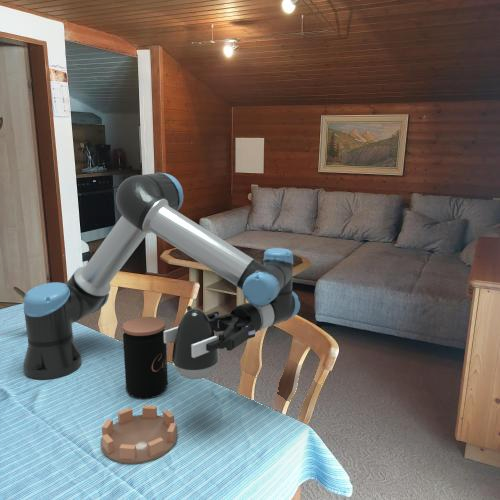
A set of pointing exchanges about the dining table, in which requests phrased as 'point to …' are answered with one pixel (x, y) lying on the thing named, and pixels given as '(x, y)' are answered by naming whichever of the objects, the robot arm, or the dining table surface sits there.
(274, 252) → the robot arm
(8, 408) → the dining table surface
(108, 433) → the castellated collar
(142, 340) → the coffee jar
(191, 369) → the pump dispenser
